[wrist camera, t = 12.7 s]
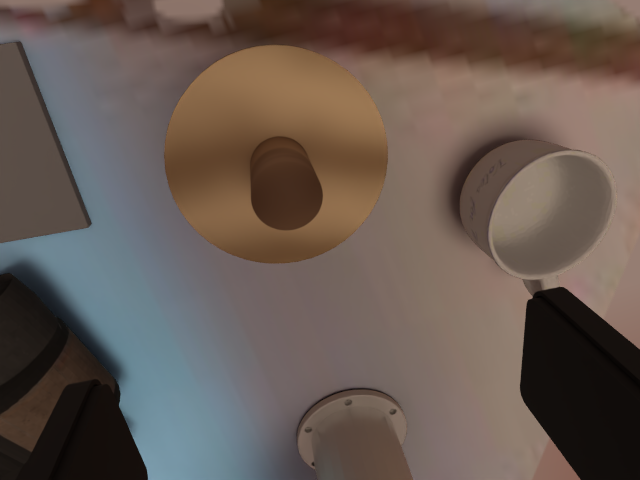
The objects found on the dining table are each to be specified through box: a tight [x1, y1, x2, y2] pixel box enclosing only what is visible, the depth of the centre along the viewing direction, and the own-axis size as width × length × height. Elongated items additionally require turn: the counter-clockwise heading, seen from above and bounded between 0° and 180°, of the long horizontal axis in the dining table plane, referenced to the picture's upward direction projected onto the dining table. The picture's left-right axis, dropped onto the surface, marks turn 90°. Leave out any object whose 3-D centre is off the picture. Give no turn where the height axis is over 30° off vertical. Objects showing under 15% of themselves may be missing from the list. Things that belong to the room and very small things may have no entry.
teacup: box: [460, 140, 617, 296], centre depth 39 cm, size 14×11×8 cm
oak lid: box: [164, 44, 388, 263], centre depth 23 cm, size 12×12×6 cm
